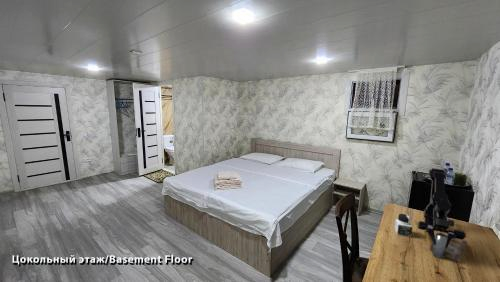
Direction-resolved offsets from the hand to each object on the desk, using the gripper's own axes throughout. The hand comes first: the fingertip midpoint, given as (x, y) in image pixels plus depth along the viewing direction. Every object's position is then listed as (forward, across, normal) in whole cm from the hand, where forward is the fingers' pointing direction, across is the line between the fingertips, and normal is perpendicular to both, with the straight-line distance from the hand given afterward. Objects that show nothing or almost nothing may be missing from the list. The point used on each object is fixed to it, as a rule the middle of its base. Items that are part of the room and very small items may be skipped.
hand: (440, 245), depth 109 cm
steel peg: (+4, 0, +5) cm, 7 cm away
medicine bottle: (-6, -15, +16) cm, 23 cm away
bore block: (-5, +6, +14) cm, 16 cm away
